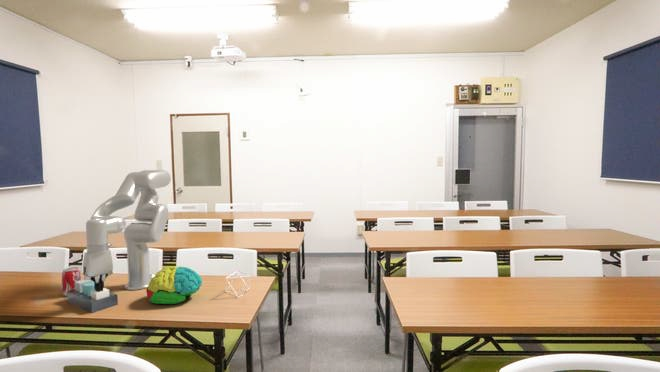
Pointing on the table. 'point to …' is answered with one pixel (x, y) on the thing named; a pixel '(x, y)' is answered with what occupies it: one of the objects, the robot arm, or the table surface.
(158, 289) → the brain model
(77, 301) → the console
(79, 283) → the grey key
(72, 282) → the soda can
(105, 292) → the ivory key
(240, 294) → the geometric polyhedron
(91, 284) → the teal key
